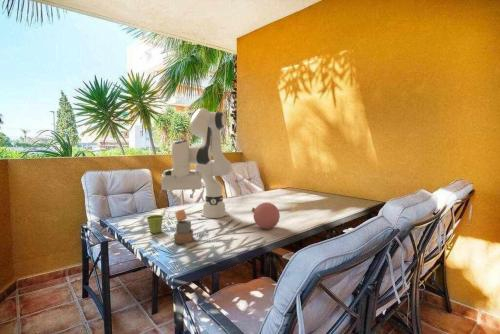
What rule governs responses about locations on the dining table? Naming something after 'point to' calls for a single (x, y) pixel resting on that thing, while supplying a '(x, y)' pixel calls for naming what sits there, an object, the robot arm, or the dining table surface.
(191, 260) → the dining table surface
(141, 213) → the dining table surface
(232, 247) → the dining table surface
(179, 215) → the terracotta cylinder
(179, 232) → the tower top
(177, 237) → the tower base
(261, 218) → the balloon
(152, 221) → the plant pot
